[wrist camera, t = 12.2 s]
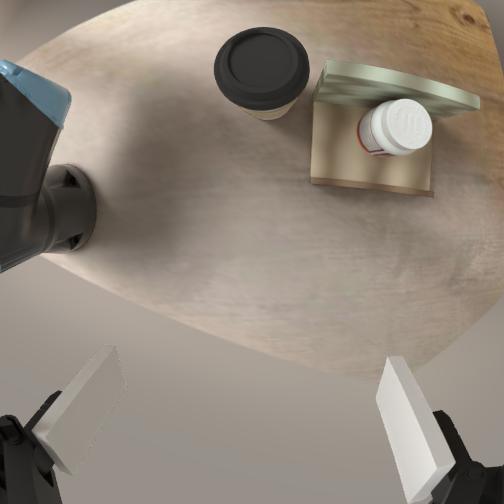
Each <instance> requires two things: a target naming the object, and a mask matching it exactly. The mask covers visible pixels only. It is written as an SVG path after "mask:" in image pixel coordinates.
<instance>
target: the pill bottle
mask: <svg viewBox="0 0 504 504" xmlns="http://www.w3.org/2000/svg"><path fill="white" fill-rule="evenodd" d="M431 135H432V122H431V119H430V116H429V114H428V112H427V111H426V110H425V108H424V107H423V106H422V105H420V104H419V103H418V102H416V101H414V100H411V99H400V100H391V101H387V102H384V103H382V104H380V105H379V106H377V107H375V108H374V109H372V110H371V111H369V112H368V113H366V114H365V115H364V116H362V117H361V119H360V120H359V122H358V124H357V127H356V136H357V140H358V142H359V144H360V146H361V147H362V148H363V150H364V151H366V152H367V153H368V154H370V155H372V156H376V157H390V156H403V155H408V154H410V153H412V152H414V151H415V150H416V149H419V148H422V147H423V146H425V145H426V144H427V143H428V141H429V140H430V138H431Z"/></svg>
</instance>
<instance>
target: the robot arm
mask: <svg viewBox="0 0 504 504" xmlns="http://www.w3.org/2000/svg"><path fill="white" fill-rule="evenodd" d="M71 101H72V99H71V94H70V92H69V91H68V90H67V89H66V88H64V87H62V86H60V85H58V84H56V83H54V82H52V81H50V80H48V79H46V78H44V77H42V76H40V75H38V74H35V73H33V72H31V71H29V70H27V69H25V68H23V67H20V66H18V65H16V64H13V63H11V62H9V61H7V60H2V61H0V273H2V272H4V271H6V270H8V269H10V268H12V267H14V266H16V265H18V264H20V263H22V262H24V261H26V260H28V259H30V258H32V257H34V256H36V255H39V254H41V253H57V254H64V253H69V252H72V251H74V250H76V249H78V248H80V247H81V246H83V245H84V244H85V243H86V242H87V240H88V239H89V237H90V236H91V234H92V231H93V228H94V225H95V220H96V202H95V196H94V192H93V189H92V187H91V184H90V182H89V181H88V179H87V178H86V176H85V175H84V174H83V173H82V172H81V171H80V170H79V169H78V168H76V167H74V166H72V165H68V164H60V165H52V166H49V163H50V160H51V157H52V154H53V151H54V148H55V146H56V143H57V140H58V138H59V135H60V133H61V130H63V128H64V125H63V124H64V121H65V118H66V116H67V113H68V110H69V108H70V105H71ZM48 166H49V167H48ZM126 389H127V384H126V381H125V377H124V374H123V371H122V367H121V364H120V360H119V357H118V353H117V350H116V346H111V345H106V344H103V345H102V346H101V347H100V348H99V350H98V351H97V352H96V353H95V354H94V355H93V357H92V358H91V359H90V360H89V361H88V362H87V363H86V365H85V366H84V367H83V368H82V369H81V371H80V372H79V373H78V374H77V375H76V376H75V377H74V379H73V380H72V381H71V382H70V383H69V385H68V386H67V387H66V388H65V389H64V391H63V392H62V391H57V392H55V393H54V394H52V395H50V397H49V398H48V399H47V400H46V401H45V402H44V404H43V405H42V406H41V407H40V410H38V411H37V412H36V413H35V414H34V416H33V417H32V418H31V419H30V421H29V422H28V423H27V424H26V426H25V427H24V428H23V427H22V425H21V424H20V422H19V421H18V419H17V418H16V417H15V416H13V415H5V416H2V417H0V504H62V500H61V497H60V493H59V489H58V486H57V481H56V477H55V473H54V470H53V468H52V466H53V465H54V463H55V464H56V466H57V467H58V468H59V469H60V470H61V471H62V472H65V473H67V474H69V475H71V476H75V474H76V472H77V470H78V469H79V467H80V465H81V463H82V462H83V460H84V458H85V456H86V455H87V453H88V451H89V450H90V448H91V446H92V445H93V443H94V441H95V439H96V438H97V436H98V434H99V433H100V431H101V429H102V428H103V426H104V424H105V423H106V421H107V419H108V418H109V416H110V415H111V413H112V411H113V410H114V408H115V406H116V405H117V403H118V402H119V400H120V398H121V396H122V395H123V393H124V392H125V390H126ZM375 399H376V402H377V405H378V408H379V411H380V414H381V417H382V419H383V422H384V426H385V429H386V432H387V435H388V438H389V441H390V444H391V447H392V451H393V454H394V457H395V461H396V464H397V467H398V471H399V474H400V478H401V481H402V485H403V489H404V492H405V496H406V500H407V503H408V504H410V503H413V502H417V501H421V500H424V499H425V498H426V497H427V496H428V495H429V494H430V493H431V494H432V497H433V499H432V500H431V501H430V502H429V503H428V504H504V465H503V466H499V467H488V468H487V467H484V466H483V465H482V464H481V463H479V462H477V461H472V459H471V458H470V456H469V454H468V452H467V450H466V447H465V446H464V444H463V441H462V439H461V438H460V436H459V435H458V432H457V430H456V428H454V424H453V422H452V420H451V419H450V417H449V416H448V415H447V414H446V413H445V412H443V411H442V410H440V411H435V412H432V411H431V409H430V407H429V405H428V403H427V401H426V399H425V397H424V395H423V393H422V391H421V390H420V388H419V386H418V384H417V382H416V380H415V378H414V377H413V375H412V373H411V371H410V369H409V367H408V366H407V364H406V362H405V360H404V358H403V357H402V355H400V356H389V357H387V360H386V364H385V368H384V371H383V375H382V378H381V382H380V385H379V388H378V392H377V395H376V398H375Z"/></svg>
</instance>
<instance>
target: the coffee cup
mask: <svg viewBox="0 0 504 504" xmlns="http://www.w3.org/2000/svg"><path fill="white" fill-rule="evenodd" d="M309 72H310V67H309V60H308V55H307V53H306V50H305V48H304V47H303V45H302V44H301V43H300V42H299V41H298V40H297V39H296V38H295V37H294V36H292V35H291V34H289V33H287V32H285V31H283V30H280V29H276V28H270V27H258V28H252V29H248V30H245V31H242V32H240V33H238V34H236V35H234V36H233V37H231V38H230V39H229V40H228V41H227V42H226V43H225V44H224V45H223V46H222V47H221V49H220V50H219V52H218V54H217V56H216V59H215V63H214V75H215V79H216V82H217V85H218V87H219V89H220V90H221V92H222V93H223V94H224V95H225V97H226V98H228V99H229V100H230V101H231V102H233V103H234V104H236V105H238V106H239V107H240V108H242V109H243V110H244V111H246V112H247V113H249V114H250V115H252V116H254V117H256V118H258V119H262V120H273V119H277V118H279V117H281V116H283V115H284V114H286V113H287V112H288V111H289V109H290V108H291V107H292V106H293V105H294V103H295V102H296V100H297V99H298V97H299V96H300V94H301V92H302V91H303V90H304V88H305V86H306V84H307V82H308V78H309Z"/></svg>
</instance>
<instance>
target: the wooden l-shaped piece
mask: <svg viewBox="0 0 504 504" xmlns="http://www.w3.org/2000/svg"><path fill="white" fill-rule="evenodd" d="M400 99H411V100H414V101H416V102H418V103H419V104H420V105H422V106H423V107H424V108H425V110H426V111H427V112H428V114H429V116H430V119H431V122H432V121H434V120H438V119H442V118H446V117H450V116H454V115H458V114H462V113H466V112H470V111H475V110H479V109H480V101H479V96H477V95H474V94H472V93H469V92H466V91H463V90H461V89H458V88H455V87H452V86H449V85H446V84H443V83H439V82H436V81H433V80H429V79H426V78H422V77H418V76H414V75H411V74H407V73H402V72H398V71H394V70H389V69H384V68H379V67H374V66H369V65H363V64H357V63H351V62H344V61H336V60H328V59H327V61H326V64H325V66H324V68H323V71H322V73H321V76H320V78H319V81H318V83H317V85H316V88H315V90H314V93H313V112H312V142H311V165H310V183H312V184H322V185H334V186H345V187H354V188H364V189H373V190H381V191H389V192H397V193H405V194H412V195H419V196H425V197H432V198H434V192H432V191H429V188H430V176H431V158H432V135H431V138H430V140H429V141H428V143H427V144H426V145H425V146H423V147H422V148H419V149H416V150H415V151H414V152H412V153H410V154H408V155H403V156H390V157H376V156H372V155H370V154H368V153H367V152H366V151H364V150H363V148H362V147H361V146H360V144H359V142H358V140H357V136H356V127H357V124H358V122H359V120H360V119H361V117H362V116H364V115H365V114H366V113H368V112H369V111H371V110H372V109H374V108H375V107H377V106H379V105H380V104H382V103H384V102H387V101H391V100H400Z"/></svg>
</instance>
